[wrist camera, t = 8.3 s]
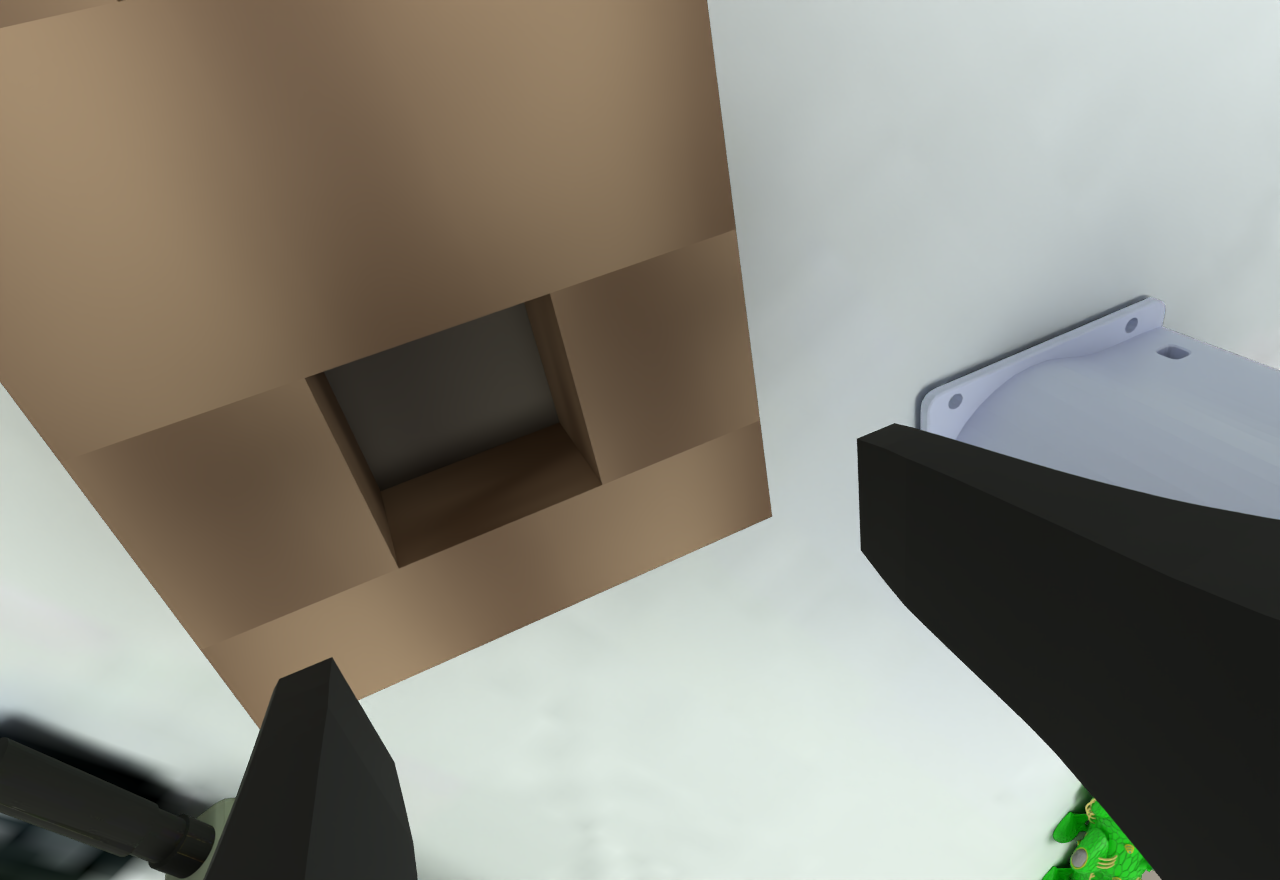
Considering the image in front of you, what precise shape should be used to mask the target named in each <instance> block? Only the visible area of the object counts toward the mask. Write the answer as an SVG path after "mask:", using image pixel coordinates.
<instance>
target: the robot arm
mask: <svg viewBox="0 0 1280 880" xmlns="http://www.w3.org/2000/svg"><path fill="white" fill-rule="evenodd" d="M1164 315H1165V303H1164V301H1161V300H1159V299H1156V298H1153V297H1151V298H1147V299H1144V300H1142V301H1140V302H1137V303H1135V304H1133V305H1130V306H1128V307H1126V308H1123V309H1121V310H1118V311H1116V312H1114V313H1111V314H1109V315H1107V316H1104V317H1102V318H1100V319H1097V320H1095V321H1093V322H1090V323H1088V324H1086V325H1083V326H1081V327H1078V328H1076V329H1074V330H1071V331H1069V332H1067V333H1064V334H1062V335H1060V336H1057V337H1055V338H1053V339H1050V340H1048V341H1045V342H1043V343H1041V344H1038V345H1036V346H1034V347H1031V348H1029V349H1027V350H1024V351H1022V352H1020V353H1017V354H1015V355H1012V356H1010V357H1008V358H1005V359H1003V360H1001V361H998V362H996V363H994V364H991V365H989V366H987V367H984V368H982V369H980V370H977V371H975V372H972V373H970V374H968V375H965V376H963V377H961V378H958V379H956V380H954V381H951V382H949V383H947V384H944V385H942V386H939V387H937V388H935V389H933V390H931V391H930V392H928V394H927V395H926V396H925V397H924V399H923V401H922V404H921V429H920V430H919V429H916V428H912V427H908V426H904V425H899V424H895V423H894V424H892V425H889V426H887V427H884V428H882V429H880V430H877V431H875V432H872V433H870V434H867V435H865V436H863V437H860V438H858V439H857V452H858V481H859V510H860V539H861V551H862V552H863V554H864V555H865V556H866V558H867V559H868V560H869V561H870V563H871V564H872V565H873V567H874V568H875V569H876V571H877V572H878V573H879V574H880V576H881V577H882V578H883V580H884V581H885V582H886V583H887V585H888V586H889V587H890V588H891V589H892V591H893V592H894V593H895V594H896V595H897V597H898V598H899V599H900V600H901V602H902V603H903V604H904V605H905V606H906V607H907V608H908V609H909V610H910V611H911V612H912V613H913V614H914V615H915V616H916V617H917V618H918V619H919V620H920V621H921V622H922V623H923V624H924V625H925V626H926V627H927V628H928V629H929V630H930V631H931V632H932V633H933V634H934V635H935V636H936V637H937V638H938V639H939V640H940V641H941V642H942V643H943V644H944V645H945V646H946V647H947V648H948V649H950V650H951V651H952V652H953V653H954V654H955V655H956V656H957V657H958V658H959V659H960V660H961V661H962V662H963V663H964V664H965V665H966V666H967V667H968V668H969V669H970V670H971V671H973V672H974V673H975V674H976V675H977V676H978V677H979V678H980V679H981V680H982V681H983V682H984V683H985V684H986V685H987V686H988V687H989V688H990V689H991V690H992V691H993V692H994V693H996V694H997V695H998V696H999V697H1000V698H1001V699H1002V700H1003V701H1004V702H1005V703H1006V704H1007V705H1008V706H1009V707H1010V708H1011V709H1012V710H1013V711H1014V712H1015V713H1016V714H1017V715H1019V716H1020V717H1021V718H1022V719H1023V720H1024V721H1025V722H1026V723H1027V724H1028V725H1029V726H1030V727H1031V728H1032V729H1033V730H1034V731H1035V732H1036V733H1037V734H1038V735H1039V737H1040V738H1041V739H1042V740H1043V741H1044V742H1045V743H1046V744H1047V745H1048V746H1049V747H1050V748H1051V749H1052V750H1053V751H1054V752H1055V753H1056V754H1057V755H1058V757H1059V758H1060V759H1061V760H1062V761H1063V762H1064V764H1065V765H1066V766H1067V767H1068V768H1069V769H1070V771H1071V772H1072V773H1073V774H1074V775H1075V776H1076V777H1077V779H1078V780H1079V781H1080V782H1081V783H1082V784H1083V786H1084V787H1085V788H1086V789H1087V790H1088V791H1089V793H1090V794H1091V795H1092V796H1093V797H1094V798H1095V799H1096V801H1097V802H1098V803H1099V804H1100V805H1101V806H1102V808H1103V809H1104V810H1105V811H1106V812H1107V813H1108V815H1109V816H1110V817H1111V818H1112V819H1113V821H1114V822H1115V823H1116V824H1117V826H1118V827H1119V828H1120V829H1121V830H1122V832H1123V833H1124V834H1125V835H1126V837H1127V838H1128V839H1129V840H1130V841H1131V843H1132V844H1133V845H1134V846H1135V847H1136V849H1137V850H1138V851H1139V852H1140V854H1141V855H1142V856H1143V857H1144V858H1145V860H1146V861H1147V862H1148V863H1149V865H1150V866H1151V867H1152V868H1153V869H1154V871H1155V872H1156V873H1157V874H1158V876H1160V878H1161V879H1162V880H1280V370H1277V369H1275V368H1272V367H1269V366H1267V365H1264V364H1261V363H1259V362H1256V361H1253V360H1250V359H1248V358H1245V357H1242V356H1240V355H1237V354H1234V353H1232V352H1229V351H1226V350H1224V349H1221V348H1218V347H1216V346H1213V345H1210V344H1208V343H1205V342H1202V341H1199V340H1197V339H1194V338H1191V337H1189V336H1186V335H1183V334H1181V333H1178V332H1175V331H1173V330H1170V329H1167V328H1165V327H1162V325H1163V320H1164ZM952 396H953V397H952ZM950 399H951V400H950ZM949 400H950V401H949ZM203 880H418V879H417V871H416V862H415V854H414V846H413V840H412V835H411V831H410V826H409V822H408V818H407V813H406V809H405V804H404V800H403V796H402V792H401V788H400V784H399V780H398V775H397V771H396V767H395V763H394V761H393V759H392V757H391V756H390V754H389V752H388V751H387V749H386V747H385V746H384V744H383V742H382V741H381V739H380V737H379V735H378V734H377V732H376V730H375V729H374V727H373V725H372V724H371V722H370V720H369V718H368V717H367V715H366V713H365V712H364V710H363V708H362V707H361V705H360V703H359V702H358V700H357V698H356V696H355V695H354V693H353V691H352V690H351V688H350V686H349V685H348V683H347V681H346V680H345V678H344V676H343V674H342V673H341V671H340V669H339V668H338V666H337V664H336V663H335V661H334V659H333V657H331V658H328V659H326V660H324V661H321V662H319V663H316V664H314V665H312V666H309V667H307V668H304V669H302V670H299V671H297V672H295V673H292V674H290V675H287V676H285V677H283V678H280V679H279V680H278V682H277V684H276V686H275V688H274V690H273V693H272V696H271V699H270V702H269V704H268V707H267V710H266V713H265V716H264V719H263V722H262V725H261V728H260V731H259V734H258V737H257V740H256V743H255V746H254V748H253V751H252V754H251V757H250V760H249V762H248V765H247V768H246V771H245V774H244V776H243V779H242V782H241V785H240V787H239V790H238V793H237V796H236V798H235V801H234V803H233V806H232V808H231V811H230V814H229V816H228V819H227V821H226V824H225V826H224V829H223V831H222V834H221V836H220V839H219V842H218V844H217V847H216V849H215V852H214V854H213V857H212V859H211V862H210V865H209V867H208V869H207V872H206V874H205V877H204V879H203Z"/></svg>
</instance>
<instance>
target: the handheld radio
mask: <svg viewBox="0 0 1280 880" xmlns="http://www.w3.org/2000/svg"><path fill="white" fill-rule="evenodd" d="M234 801H235V798H228V799H223V800H221V801H219V802H217V803H216V804H214V805H213V806H212V807H210V808H209V809H208V810H206V811H205V812H204V813H202V814H201V815H200V816H199V817H197V818H196V819H195V818H193V817H190V816H188V815H186V814H180V815H177V816H176V815H173V814H171V813H169V812H166V811H164V810H162V809H159V807H158V805H157V804H156V803H154V802H152V801H149V800H147V799H145V798H143V797H140V796H138V795H136V794H134V793H131V792H129V791H127V790H124V789H122V788H120V787H118V786H115V785H113V784H111V783H109V782H106V781H104V780H102V779H100V778H97V777H95V776H93V775H90V774H88V773H86V772H84V771H81V770H79V769H77V768H75V767H72V766H70V765H68V764H65V763H63V762H61V761H59V760H56V759H54V758H52V757H50V756H47V755H45V754H43V753H41V752H38V751H36V750H34V749H31V748H29V747H27V746H25V745H22V744H20V743H18V742H16V741H13V740H11V739H9V738H6V737H2V738H0V812H1V813H3V814H6V815H9V816H11V817H14V818H17V819H20V820H22V821H25V822H28V823H30V824H33V825H36V826H39V827H41V828H44V829H47V830H49V831H52V832H55V833H58V834H60V835H63V836H66V837H68V838H71V839H74V840H77V841H79V842H82V843H85V844H87V845H90V846H93V847H96V848H98V849H101V850H104V851H106V852H109V853H112V854H115V855H117V856H120V857H124V856H127V855H129V854H130V855H133V856H135V857H138V858H141V859H143V860H146V861H148V862H149V866H150V867H151V868H153V869H155V870H158V871H161V872H163V873H166V875H165V880H203V879H204V877H205V874H206V872H207V869H208V867H209V865H210V862H211V859H212V857H213V854H214V852H215V849H216V847H217V844H218V842H219V839H220V836H221V834H222V831H223V829H224V826H225V824H226V821H227V819H228V816H229V814H230V811H231V808H232V806H233V803H234Z"/></svg>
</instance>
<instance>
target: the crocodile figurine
mask: <svg viewBox="0 0 1280 880" xmlns="http://www.w3.org/2000/svg"><path fill="white" fill-rule="evenodd" d="M1089 805H1090V807H1089V808H1087V807H1088V806H1089ZM1085 810H1086V814H1074V813H1072V812H1069V813H1068V814H1067V815H1066V816H1065V817H1064V818H1063V819H1062V821H1061V822H1060V823H1059V824H1058V826H1057V827H1056V829H1055V831H1054V832H1053V838H1054V839H1055V840H1056V841H1057V842H1060V843H1067V842H1070V841H1072V840H1073V839H1074V838H1075V837H1076V836H1077V835H1078V833H1079V832H1082V831H1086V834H1085V836H1084V838H1083V840H1082V841H1081V840H1080V841H1079V840H1077V842H1076V843H1077V845H1078V846H1077V847H1076V849H1075V851H1074V852H1073V854H1072V856H1071V858H1070V866H1071V868H1057V867H1055V866H1054V867H1052V868H1051V869H1050V870H1049V871H1048V872H1047V874H1046V875H1045V876H1044V877H1043V879H1042V880H1141V877H1142V874H1143V873H1144V872H1145V870H1146V869H1147V871H1149V872H1150V871H1151V870H1153V871H1154V869H1153V868H1152V867H1151V866H1150V865H1149V863H1148V862H1147V861H1146V860H1145V858H1144V857H1143V856H1142V855H1141V854H1140V852H1139V851H1138V850H1137V849H1136V847H1135V846H1134V845H1133V844H1132V843H1131V841H1130V840H1129V839H1128V838H1127V837H1126V835H1125V834H1124V833H1123V832H1122V830H1121V829H1120V828H1119V827H1118V826H1117V824H1116V823H1115V822H1114V821H1113V819H1112V818H1111V817H1110V816H1109V815H1108V813H1107V812H1106V811H1105V810H1104V809H1103V808H1102V806H1101V805H1100V804H1099V803H1098V802H1097V801H1096V799H1095V798H1094V797H1093V798H1092V799H1091V801H1090V802H1089V803H1088V804H1087V805H1086V807H1085ZM1088 813H1089V814H1088ZM1088 820H1089V824H1088V825H1087V824H1085V823H1086V821H1088Z"/></svg>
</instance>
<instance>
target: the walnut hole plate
mask: <svg viewBox="0 0 1280 880" xmlns="http://www.w3.org/2000/svg"><path fill="white" fill-rule="evenodd" d="M0 382H1V384H2V385H3V386H4V388H5V389H6V390H7V392H8V393H9V394H10V396H11V397H12V398H13V400H14V401H15V402H16V404H17V405H18V406H19V408H20V409H21V410H22V412H23V413H24V414H25V416H26V417H27V418H28V420H29V421H30V422H31V424H32V425H33V426H34V428H35V429H36V430H37V432H38V433H39V434H40V436H41V437H42V438H43V440H44V441H45V442H46V444H47V445H48V446H49V448H50V449H51V450H52V452H53V453H54V455H55V456H56V457H57V459H58V460H59V461H60V463H61V464H62V465H63V467H64V468H65V469H66V471H67V472H68V473H69V475H70V476H71V477H72V479H73V480H74V481H75V483H76V484H77V485H78V487H79V488H80V489H81V491H82V492H83V493H84V495H85V496H86V497H87V499H88V500H89V501H90V503H91V504H92V505H93V507H94V508H95V509H96V511H97V512H98V513H99V515H100V516H101V517H102V519H103V520H104V521H105V523H106V524H107V525H108V527H109V528H110V529H111V531H112V532H113V533H114V535H115V536H116V537H117V539H118V540H119V541H120V543H121V544H122V545H123V547H124V548H125V550H126V551H127V552H128V554H129V555H130V556H131V558H132V559H133V560H134V562H135V563H136V564H137V566H138V567H139V568H140V570H141V571H142V572H143V574H144V575H145V576H146V578H147V579H148V580H149V582H150V583H151V584H152V586H153V587H154V588H155V590H156V591H157V592H158V594H159V595H160V596H161V598H162V599H163V600H164V602H165V603H166V604H167V606H168V607H169V608H170V610H171V611H172V612H173V614H174V615H175V616H176V618H177V619H178V620H179V622H180V623H181V624H182V626H183V627H184V628H185V630H186V631H187V632H188V634H189V635H190V636H191V638H192V639H193V641H194V642H195V643H196V645H197V646H198V647H199V649H200V650H201V651H202V653H203V654H204V655H205V657H206V658H207V659H208V661H209V662H210V663H211V665H212V666H213V667H214V669H215V670H216V671H217V673H218V674H219V675H220V677H221V678H222V679H223V681H224V682H225V683H226V685H227V686H228V687H229V689H230V690H231V691H232V693H233V694H234V695H235V697H236V698H237V699H238V701H239V702H240V703H241V705H242V706H243V707H244V709H245V710H246V711H247V713H248V714H249V715H250V717H251V718H252V719H253V721H254V722H255V723H256V725H257V726H258V727H259V729H260V728H261V725H262V722H263V719H264V716H265V713H266V710H267V707H268V704H269V702H270V699H271V696H272V693H273V690H274V688H275V686H276V684H277V682H278V680H279V679H280V678H283V677H285V676H287V675H290V674H292V673H295V672H297V671H299V670H302V669H304V668H307V667H309V666H312V665H314V664H316V663H319V662H321V661H324V660H326V659H328V658H331V657H333V659H334V661H335V663H336V664H337V666H338V668H339V669H340V671H341V673H342V674H343V676H344V678H345V680H346V681H347V683H348V685H349V686H350V688H351V690H352V691H353V693H354V695H355V696H356V698H357V700H360V699H362V698H364V697H367V696H369V695H371V694H373V693H376V692H378V691H380V690H382V689H385V688H387V687H389V686H391V685H394V684H396V683H398V682H400V681H403V680H405V679H407V678H409V677H412V676H414V675H416V674H418V673H421V672H423V671H425V670H427V669H430V668H432V667H434V666H436V665H439V664H441V663H443V662H445V661H448V660H450V659H452V658H454V657H457V656H459V655H461V654H463V653H466V652H468V651H470V650H472V649H475V648H477V647H479V646H481V645H484V644H486V643H488V642H490V641H493V640H495V639H497V638H499V637H502V636H504V635H506V634H508V633H511V632H513V631H515V630H518V629H520V628H522V627H524V626H527V625H529V624H531V623H533V622H536V621H538V620H540V619H542V618H545V617H547V616H549V615H551V614H554V613H556V612H558V611H560V610H563V609H565V608H567V607H569V606H572V605H574V604H576V603H578V602H581V601H583V600H585V599H587V598H590V597H592V596H594V595H596V594H599V593H601V592H603V591H605V590H608V589H610V588H612V587H614V586H617V585H619V584H621V583H623V582H626V581H628V580H630V579H632V578H635V577H637V576H639V575H641V574H644V573H646V572H648V571H650V570H653V569H655V568H657V567H659V566H662V565H664V564H666V563H668V562H671V561H673V560H675V559H677V558H680V557H682V556H684V555H686V554H689V553H691V552H693V551H695V550H698V549H700V548H702V547H704V546H707V545H709V544H711V543H713V542H716V541H718V540H720V539H722V538H725V537H727V536H729V535H731V534H734V533H736V532H738V531H740V530H743V529H745V528H747V527H749V526H752V525H754V524H756V523H758V522H761V521H763V520H765V519H768V518H770V517H772V512H771V504H770V496H769V488H768V480H767V472H766V465H765V457H764V449H763V441H762V433H761V425H760V417H759V409H758V401H757V393H756V385H755V377H754V369H753V361H752V353H751V346H750V338H749V330H748V322H747V314H746V306H745V298H744V290H743V282H742V274H741V266H740V258H739V250H738V242H737V235H736V227H735V219H734V211H733V203H732V195H731V187H730V179H729V171H728V163H727V155H726V147H725V139H724V131H723V123H722V116H721V108H720V100H719V92H718V84H717V76H716V68H715V60H714V52H713V44H712V36H711V28H710V20H709V12H708V5H707V0H0Z"/></svg>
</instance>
